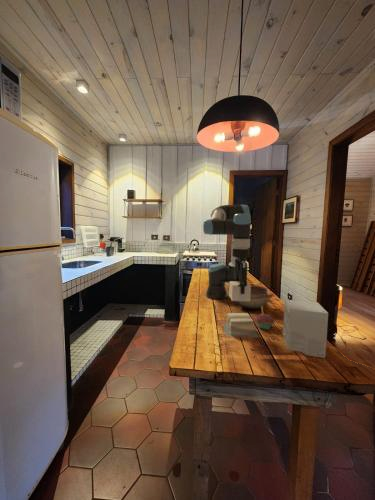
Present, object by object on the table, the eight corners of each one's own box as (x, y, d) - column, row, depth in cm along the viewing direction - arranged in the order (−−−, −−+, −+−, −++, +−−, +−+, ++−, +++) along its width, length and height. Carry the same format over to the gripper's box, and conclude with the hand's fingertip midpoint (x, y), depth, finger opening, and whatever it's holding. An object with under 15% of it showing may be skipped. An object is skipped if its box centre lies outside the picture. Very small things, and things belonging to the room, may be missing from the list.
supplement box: (315, 341, 93) (318, 301, 92) (326, 358, 81) (329, 313, 79) (282, 337, 97) (284, 298, 95) (287, 352, 84) (289, 309, 83)
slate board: (222, 325, 108) (222, 322, 108) (250, 325, 108) (250, 323, 108) (226, 339, 94) (226, 336, 94) (259, 339, 94) (259, 337, 94)
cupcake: (261, 333, 99) (263, 308, 98) (251, 326, 108) (252, 302, 107) (277, 331, 102) (279, 306, 101) (266, 324, 110) (267, 301, 109)
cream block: (229, 295, 104) (229, 281, 103) (245, 296, 103) (246, 281, 103) (232, 300, 96) (232, 285, 95) (250, 301, 96) (250, 285, 95)
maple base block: (226, 324, 106) (227, 312, 105) (247, 325, 106) (247, 313, 105) (230, 334, 96) (231, 321, 95) (253, 334, 96) (253, 321, 95)
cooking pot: (268, 303, 142) (269, 285, 141) (277, 314, 123) (278, 293, 122) (229, 301, 144) (230, 283, 143) (232, 312, 125) (233, 291, 124)
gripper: (228, 246, 108) (227, 291, 110) (237, 250, 87) (235, 305, 89) (244, 246, 108) (242, 291, 110) (256, 250, 87) (254, 305, 89)
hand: (239, 297), depth 100 cm, fingers closed on cream block, 8 cm apart
